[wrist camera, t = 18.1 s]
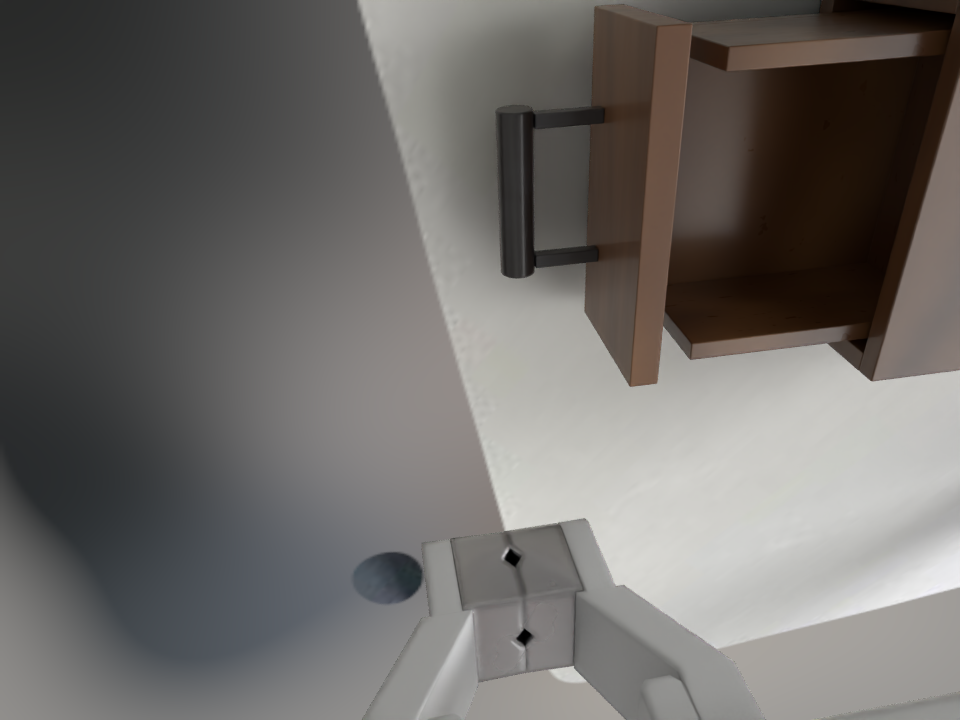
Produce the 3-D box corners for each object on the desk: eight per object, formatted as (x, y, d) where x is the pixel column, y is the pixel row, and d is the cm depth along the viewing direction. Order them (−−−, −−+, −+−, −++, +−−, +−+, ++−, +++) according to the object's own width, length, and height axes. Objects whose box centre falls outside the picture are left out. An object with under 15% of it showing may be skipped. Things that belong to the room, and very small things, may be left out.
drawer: (497, 321, 35) (526, 400, 29) (485, 13, 28) (520, 35, 22) (860, 280, 37) (955, 346, 31) (935, -18, 30) (1077, -5, 24)
